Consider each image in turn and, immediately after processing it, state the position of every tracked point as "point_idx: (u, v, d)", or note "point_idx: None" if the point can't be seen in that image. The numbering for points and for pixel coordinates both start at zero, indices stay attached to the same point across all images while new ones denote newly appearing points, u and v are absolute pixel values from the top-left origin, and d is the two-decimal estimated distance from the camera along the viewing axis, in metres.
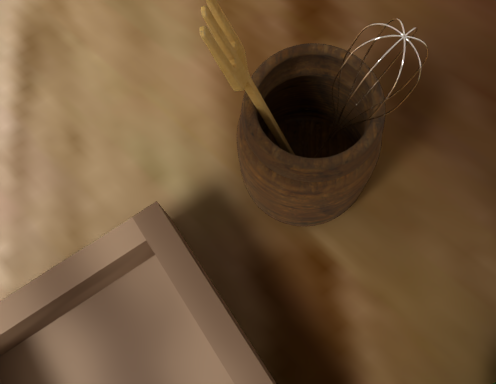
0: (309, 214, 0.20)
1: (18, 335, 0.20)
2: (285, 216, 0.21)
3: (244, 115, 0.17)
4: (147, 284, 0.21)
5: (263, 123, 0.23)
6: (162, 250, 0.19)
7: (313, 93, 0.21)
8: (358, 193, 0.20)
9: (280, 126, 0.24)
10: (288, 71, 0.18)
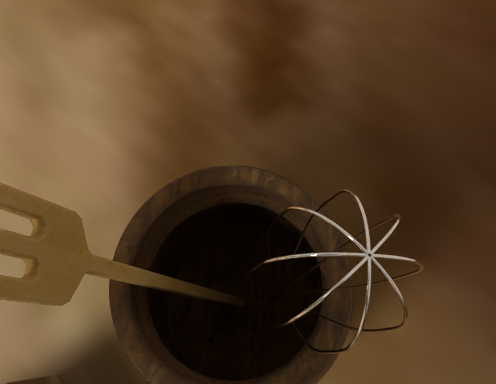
0: None
1: None
2: None
3: (109, 297, 0.10)
4: None
5: (189, 239, 0.16)
6: None
7: (256, 206, 0.14)
8: None
9: (217, 237, 0.17)
10: (201, 200, 0.11)
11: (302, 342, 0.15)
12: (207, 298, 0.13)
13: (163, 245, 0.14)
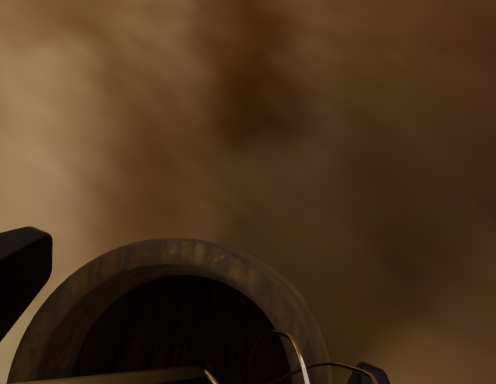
0: None
1: None
2: None
3: None
4: None
5: (145, 296, 0.13)
6: None
7: None
8: None
9: (182, 289, 0.14)
10: (138, 274, 0.09)
11: None
12: (156, 383, 0.11)
13: (107, 312, 0.12)
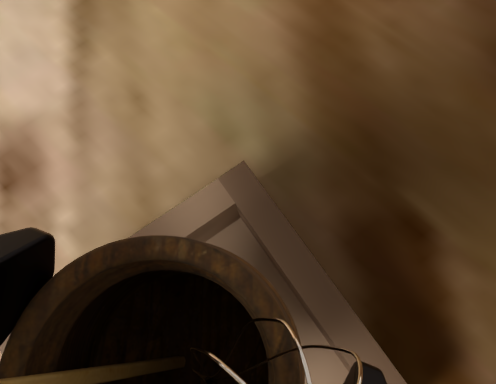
0: None
1: None
2: None
3: None
4: None
5: (119, 292, 0.14)
6: (253, 213, 0.17)
7: None
8: None
9: (154, 284, 0.15)
10: (120, 271, 0.09)
11: None
12: (135, 375, 0.11)
13: (84, 308, 0.12)
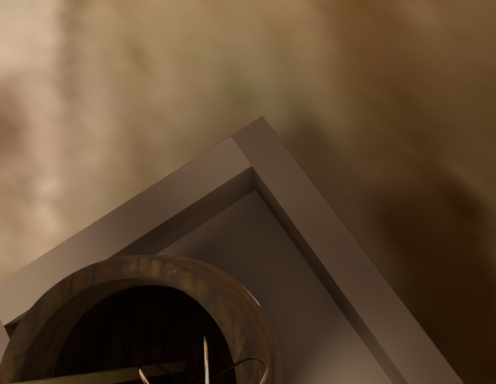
0: None
1: None
2: None
3: None
4: (241, 229, 0.17)
5: (122, 302, 0.15)
6: (274, 178, 0.14)
7: None
8: None
9: (156, 294, 0.16)
10: (107, 287, 0.10)
11: None
12: (130, 380, 0.12)
13: (86, 318, 0.13)
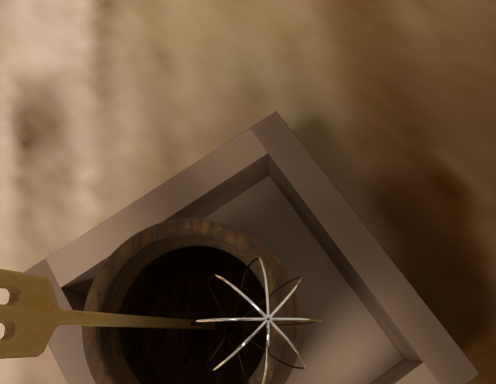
0: None
1: None
2: None
3: None
4: (256, 210, 0.19)
5: (162, 270, 0.17)
6: (287, 163, 0.17)
7: None
8: None
9: (189, 265, 0.18)
10: (163, 246, 0.13)
11: None
12: (175, 328, 0.15)
13: (136, 280, 0.16)
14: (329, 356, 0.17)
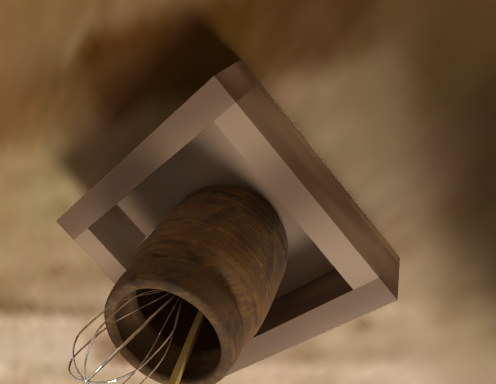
0: (276, 274, 0.19)
1: None
2: (280, 281, 0.20)
3: None
4: (144, 213, 0.24)
5: None
6: (91, 215, 0.21)
7: None
8: (248, 229, 0.19)
9: None
10: (138, 328, 0.19)
11: None
12: None
13: (187, 314, 0.21)
14: (242, 163, 0.21)
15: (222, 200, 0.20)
